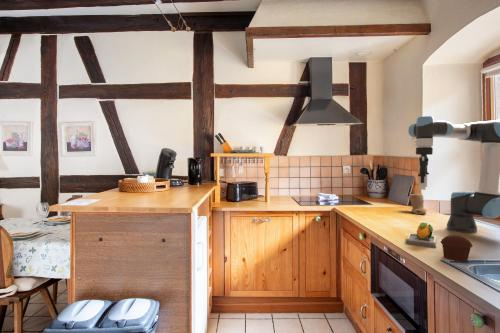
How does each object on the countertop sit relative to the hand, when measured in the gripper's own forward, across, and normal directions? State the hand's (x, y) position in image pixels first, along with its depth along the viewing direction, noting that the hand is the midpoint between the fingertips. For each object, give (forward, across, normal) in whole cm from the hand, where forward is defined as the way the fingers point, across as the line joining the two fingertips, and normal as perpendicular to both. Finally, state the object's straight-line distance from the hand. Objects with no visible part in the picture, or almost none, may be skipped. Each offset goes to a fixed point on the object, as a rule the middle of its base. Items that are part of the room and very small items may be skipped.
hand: (423, 188), depth 159 cm
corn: (+26, +1, +1) cm, 26 cm away
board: (+28, 0, 0) cm, 28 cm away
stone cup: (+29, -85, -8) cm, 90 cm away
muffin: (+28, +20, +14) cm, 38 cm away
